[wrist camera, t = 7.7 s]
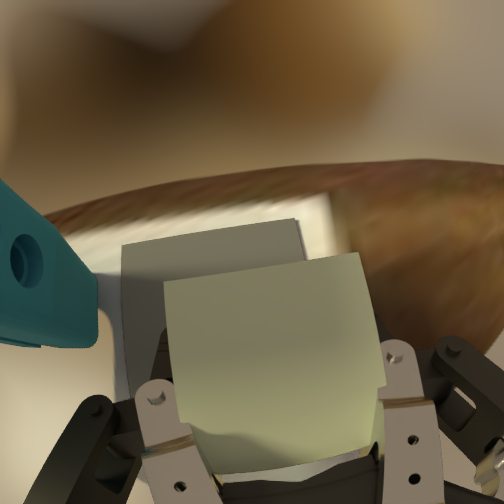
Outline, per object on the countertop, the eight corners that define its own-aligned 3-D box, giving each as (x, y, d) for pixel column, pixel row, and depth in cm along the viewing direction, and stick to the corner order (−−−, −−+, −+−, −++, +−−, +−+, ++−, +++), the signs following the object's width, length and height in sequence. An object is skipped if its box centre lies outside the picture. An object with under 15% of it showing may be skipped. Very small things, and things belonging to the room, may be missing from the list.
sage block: (227, 412, 13) (191, 475, 5) (214, 323, 15) (163, 281, 7) (321, 397, 13) (392, 436, 5) (306, 308, 15) (358, 252, 7)
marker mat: (137, 430, 12) (136, 431, 12) (123, 246, 17) (121, 245, 16) (331, 410, 13) (333, 411, 13) (294, 219, 17) (294, 217, 17)
